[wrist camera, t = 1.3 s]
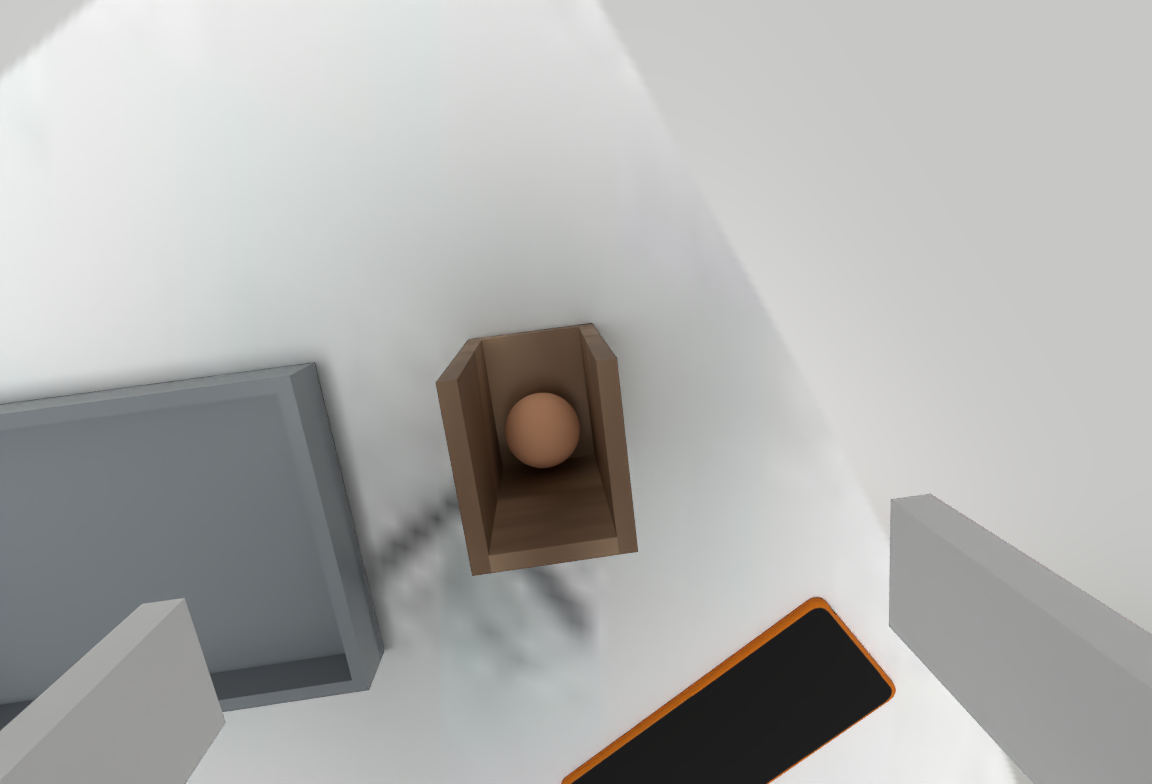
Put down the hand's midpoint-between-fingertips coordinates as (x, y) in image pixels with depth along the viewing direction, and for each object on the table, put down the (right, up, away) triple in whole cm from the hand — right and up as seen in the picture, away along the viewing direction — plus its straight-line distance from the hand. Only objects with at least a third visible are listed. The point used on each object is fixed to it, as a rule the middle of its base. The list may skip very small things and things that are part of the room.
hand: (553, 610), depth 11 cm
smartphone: (+8, -14, +20) cm, 25 cm away
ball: (-1, +3, +14) cm, 14 cm away
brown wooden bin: (-1, +4, +14) cm, 15 cm away
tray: (-18, -3, +15) cm, 24 cm away
